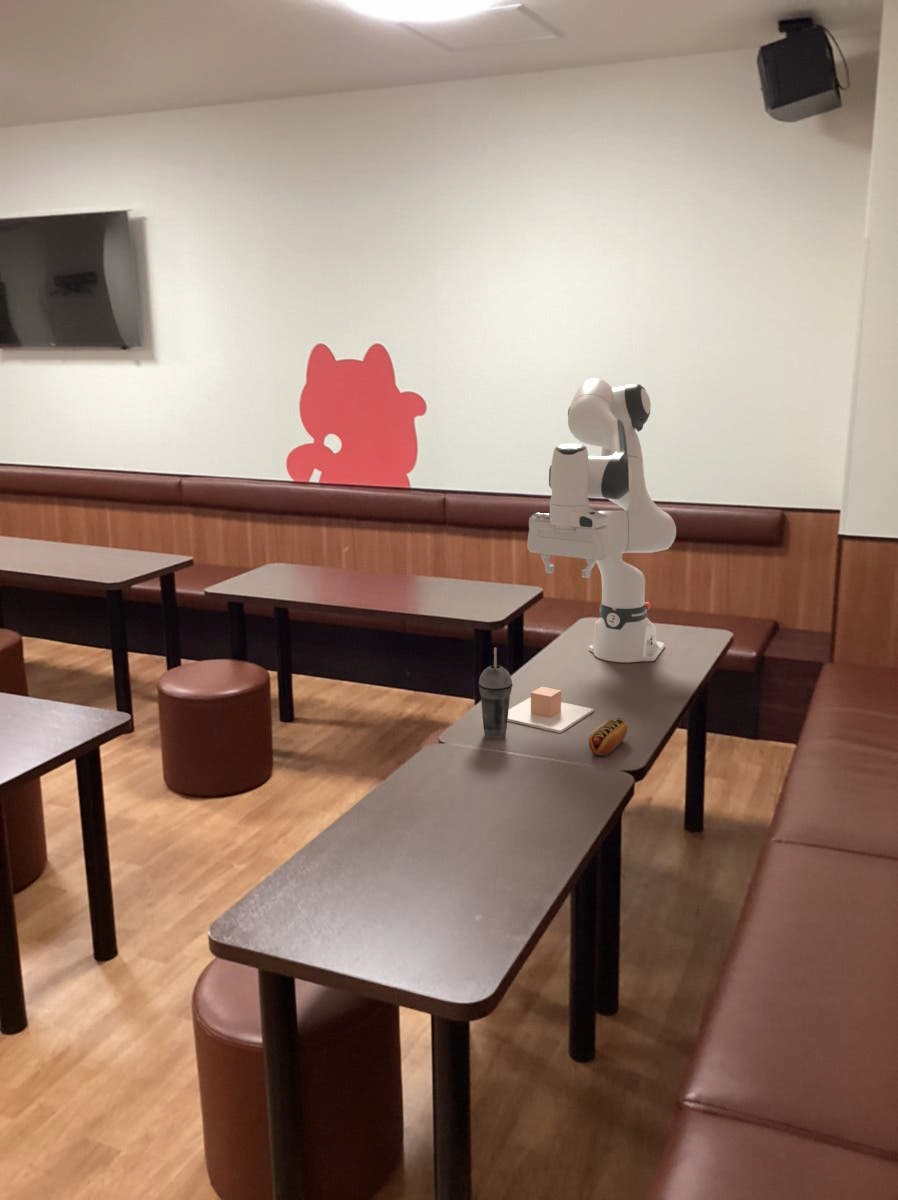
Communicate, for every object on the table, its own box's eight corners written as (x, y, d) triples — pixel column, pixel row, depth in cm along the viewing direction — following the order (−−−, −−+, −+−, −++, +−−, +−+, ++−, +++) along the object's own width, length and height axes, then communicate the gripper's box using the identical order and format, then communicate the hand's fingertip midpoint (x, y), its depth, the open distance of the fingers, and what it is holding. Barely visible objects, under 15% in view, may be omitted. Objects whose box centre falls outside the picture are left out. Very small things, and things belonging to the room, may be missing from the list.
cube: (541, 707, 238) (541, 686, 237) (560, 711, 236) (561, 690, 235) (530, 713, 234) (530, 692, 233) (550, 717, 232) (550, 696, 231)
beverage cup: (512, 730, 226) (513, 641, 221) (511, 742, 219) (512, 651, 214) (479, 729, 227) (479, 640, 222) (476, 741, 220) (477, 650, 215)
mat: (532, 698, 246) (532, 696, 246) (593, 711, 237) (593, 708, 237) (496, 718, 233) (496, 716, 233) (560, 733, 224) (560, 730, 224)
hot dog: (582, 756, 212) (583, 733, 211) (607, 736, 223) (608, 713, 222) (605, 761, 210) (606, 738, 208) (629, 740, 221) (630, 718, 219)
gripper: (522, 513, 242) (521, 572, 245) (603, 521, 231) (601, 582, 234) (535, 510, 247) (535, 567, 250) (615, 517, 236) (613, 577, 239)
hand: (567, 575), depth 242 cm, fingers open, 8 cm apart
